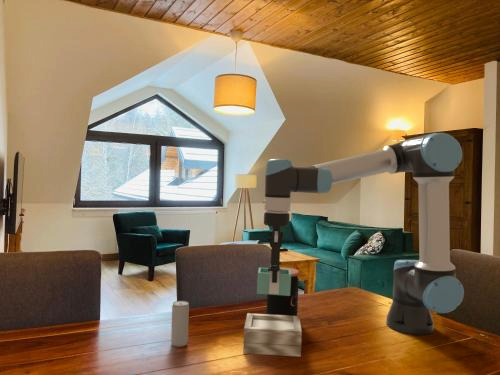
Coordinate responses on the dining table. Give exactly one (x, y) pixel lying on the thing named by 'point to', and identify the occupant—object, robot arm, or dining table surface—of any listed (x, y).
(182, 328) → the beverage can
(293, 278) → the coffee jar
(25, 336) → the dining table surface
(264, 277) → the teal crate
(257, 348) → the beige crate
